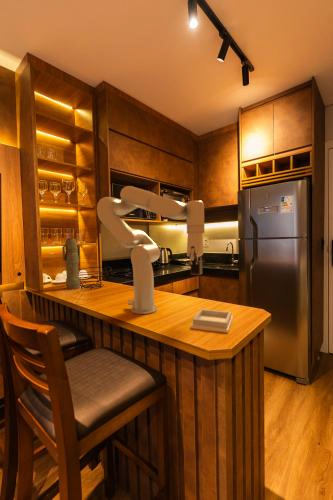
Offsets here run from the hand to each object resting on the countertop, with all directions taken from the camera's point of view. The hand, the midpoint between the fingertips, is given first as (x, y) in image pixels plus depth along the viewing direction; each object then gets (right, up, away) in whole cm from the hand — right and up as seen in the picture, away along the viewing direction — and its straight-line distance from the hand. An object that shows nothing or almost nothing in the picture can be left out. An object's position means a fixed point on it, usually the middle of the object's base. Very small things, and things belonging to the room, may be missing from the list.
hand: (196, 272), depth 103 cm
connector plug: (0, -1, 0) cm, 1 cm away
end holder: (+6, -20, -7) cm, 22 cm away
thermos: (-79, -17, +65) cm, 103 cm away
